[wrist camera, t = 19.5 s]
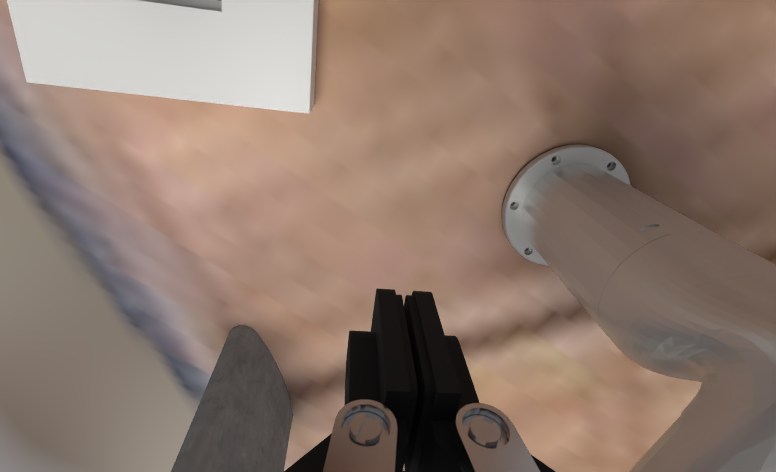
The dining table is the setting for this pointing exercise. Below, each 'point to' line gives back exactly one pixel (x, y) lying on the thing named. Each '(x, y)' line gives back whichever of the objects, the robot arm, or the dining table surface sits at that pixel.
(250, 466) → the hip flask
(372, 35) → the dining table surface
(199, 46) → the socket
